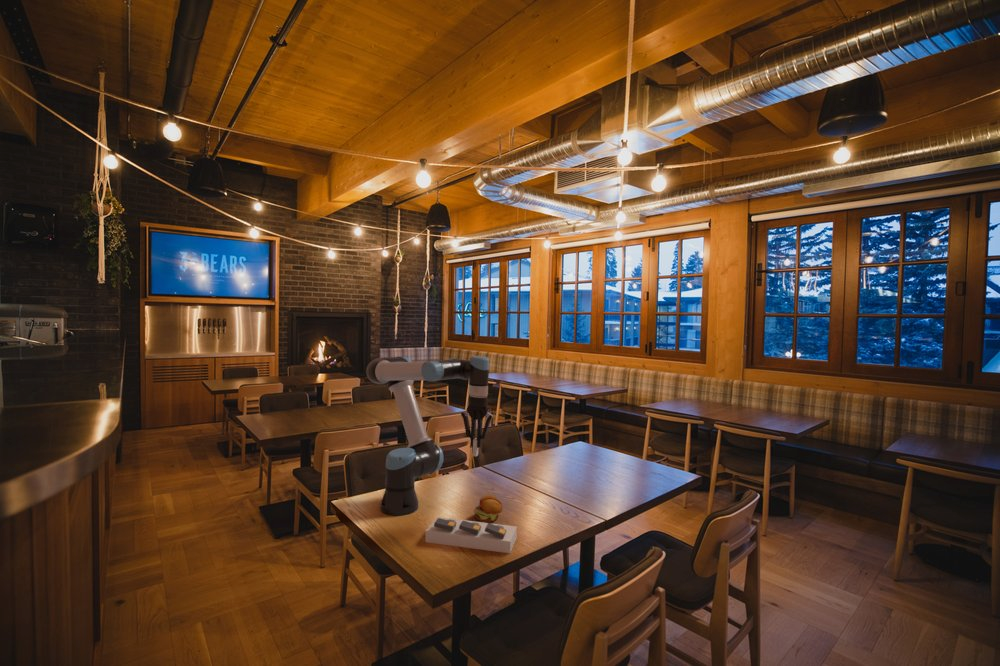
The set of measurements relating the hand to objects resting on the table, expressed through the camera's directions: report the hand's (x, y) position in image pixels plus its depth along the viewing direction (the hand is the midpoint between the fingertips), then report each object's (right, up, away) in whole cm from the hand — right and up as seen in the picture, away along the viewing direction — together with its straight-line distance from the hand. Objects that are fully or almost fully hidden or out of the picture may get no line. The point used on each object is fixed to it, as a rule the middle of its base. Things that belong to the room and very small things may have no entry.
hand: (475, 455), depth 186 cm
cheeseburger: (+5, -25, -1) cm, 25 cm away
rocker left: (-10, -20, -20) cm, 30 cm away
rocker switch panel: (0, -25, -19) cm, 31 cm away
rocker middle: (-1, -20, -22) cm, 30 cm away
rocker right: (+8, -20, -24) cm, 33 cm away
